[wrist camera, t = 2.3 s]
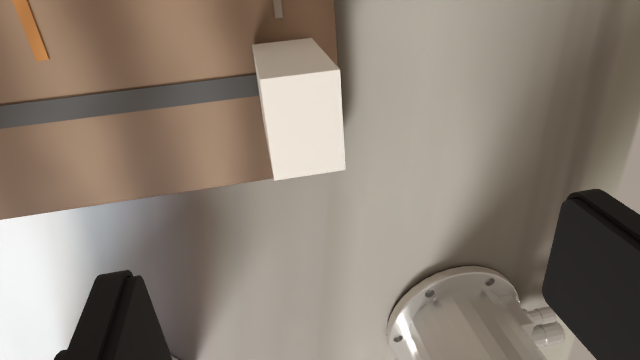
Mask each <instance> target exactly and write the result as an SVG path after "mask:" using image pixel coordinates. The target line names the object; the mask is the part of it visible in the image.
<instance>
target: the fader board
mask: <svg viewBox="0 0 640 360" xmlns="http://www.w3.org/2000/svg"><path fill="white" fill-rule="evenodd" d="M306 38H312V39H313V40H314V41H315V42H316V43H317V44H318V45H319V47H320V48H321V49H322V50H323V51H324V52H325V53H326V54H327V56H328V57H329V58H330V59H331V60H332V61H333V62H334V63H335V64H336V66H337V67H338V62H337V44H336V26H335V8H334V0H0V220H2V219H8V218H15V217H22V216H28V215H35V214H41V213H48V212H55V211H61V210H68V209H74V208H81V207H87V206H94V205H101V204H107V203H114V202H120V201H127V200H134V199H140V198H147V197H153V196H160V195H167V194H173V193H180V192H186V191H193V190H200V189H206V188H213V187H219V186H226V185H232V184H239V183H246V182H252V181H259V180H265V179H272V178H274V176H273V171H272V166H271V160H270V155H269V149H268V144H267V139H266V133H265V128H264V122H263V115H262V108H261V102H260V95H259V88H258V81H257V75H256V68H255V61H254V54H253V47H252V45H253V44H262V43H271V42H279V41H288V40H297V39H306Z"/></svg>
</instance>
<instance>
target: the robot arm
mask: <svg viewBox="0 0 640 360" xmlns="http://www.w3.org/2000/svg"><path fill="white" fill-rule="evenodd" d="M542 292H543V296H544V299H545V301H546V303H547V304H548V305H549V306H550V307H543V308H538V309H535V310H532V311H527V310H525V309H522V308H521V307H520V301H519V297H518V293H517V292H516V290H515V289H514V287H513V285H512V284H511V283H510V282H509V281H508V280H507V279H506V278H505V277H504V276H503V275H502V274H500V273H499V272H497V271H495V270H492V269H489V268H486V267H479V266H463V267H457V268H452V269H448V270H445V271H442V272H439V273H436V274H434V275H432V276H430V277H428V278H426V279H424V280H423V281H422V282H420V283H419V284H417V285H416V286H414V287H413V288H412V289H411V290H410V291H409V292H407V293H406V294H405V295H404V296H403V297H402V299H401V300H400V301H399V302H398V304H397V305H396V306H395V308H394V310H393V312H392V313H391V315H390V318H389V321H388V325H387V340H388V344H389V346H390V349H391V351H392V354H393V355H394V357H395V358H396V359H397V360H547V359H546V358H545V356H544V355H543V354H542V352H541V351H540V350H539V348H538V346H547V345H551V344H556V343H561V342H564V340H565V333H564V330H563V328H562V326H561V325H560V324H559V323H558V322H557V321H556V315H555V313H556V314H557V315H558V316H559V318H560V319H561V320H562V321H563V322H564V323H565V324H566V325H567V327H568V328H569V329H570V330H571V331H572V332H573V333H574V335H575V336H576V337H577V338H578V339H579V340H580V341H581V342H582V344H583V345H584V346H585V347H586V348H587V349H588V350H589V351H590V352H591V354H592V355H593V356H594V357H595V358H596V359H597V360H640V215H639V214H638V213H636V212H635V211H633V210H631V209H630V208H628V207H627V206H625V205H624V204H622V203H621V202H619V201H618V200H616V199H615V198H613V197H612V196H610V195H609V194H607V193H606V192H604V191H602V190H600V189H592V190H586V191H580V192H575V193H572V194H570V195H569V196H568V197H567V200H566V201H564V202H563V203H562V206H561V210H560V214H559V218H558V222H557V227H556V231H555V235H554V240H553V244H552V248H551V253H550V257H549V261H548V265H547V270H546V274H545V278H544V283H543V287H542ZM534 325H536V326H534ZM54 360H172V357H171V355H170V352H169V349H168V346H167V344H166V341H165V338H164V335H163V333H162V330H161V327H160V324H159V322H158V319H157V316H156V313H155V311H154V308H153V305H152V302H151V300H150V297H149V294H148V291H147V289H146V286H145V283H144V280H143V278H142V277H141V276H140V275H138V276H133V274H132V273H131V272H130V271H129V270H125V271H119V272H113V273H108V274H102V275H99V276H97V278H96V279H95V282H94V284H93V287H92V289H91V292H90V294H89V297H88V299H87V302H86V304H85V307H84V309H83V312H82V314H81V317H80V319H79V322H78V324H77V327H76V329H75V332H74V334H73V337H72V339H71V342H70V344H69V347H68V349H67V350H62V351H60V352H59V353H58V354H57V355H56V356H55V358H54Z"/></svg>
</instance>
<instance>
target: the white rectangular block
mask: <svg viewBox="0 0 640 360" xmlns="http://www.w3.org/2000/svg"><path fill="white" fill-rule="evenodd" d="M252 47H253V54H254V61H255V68H256V75H257V81H258V88H259V95H260V102H261V108H262V115H263V122H264V128H265V133H266V139H267V144H268V149H269V155H270V160H271V166H272V171H273V176H274V181H275V180H282V179H288V178H295V177H301V176H308V175H315V174H321V173H328V172H334V171H341V170H345V153H344V134H343V115H342V96H341V78H340V69H339V68H338V67H337V66H336V64H335V63H334V62H333V61H332V60H331V59H330V58H329V57H328V56H327V54H326V53H325V52H324V51H323V50H322V49H321V48H320V47H319V45H318V44H317V43H316V42H315V41H314V40H313V39H312V38H306V39H297V40H288V41H279V42H271V43H262V44H253V45H252Z"/></svg>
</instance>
